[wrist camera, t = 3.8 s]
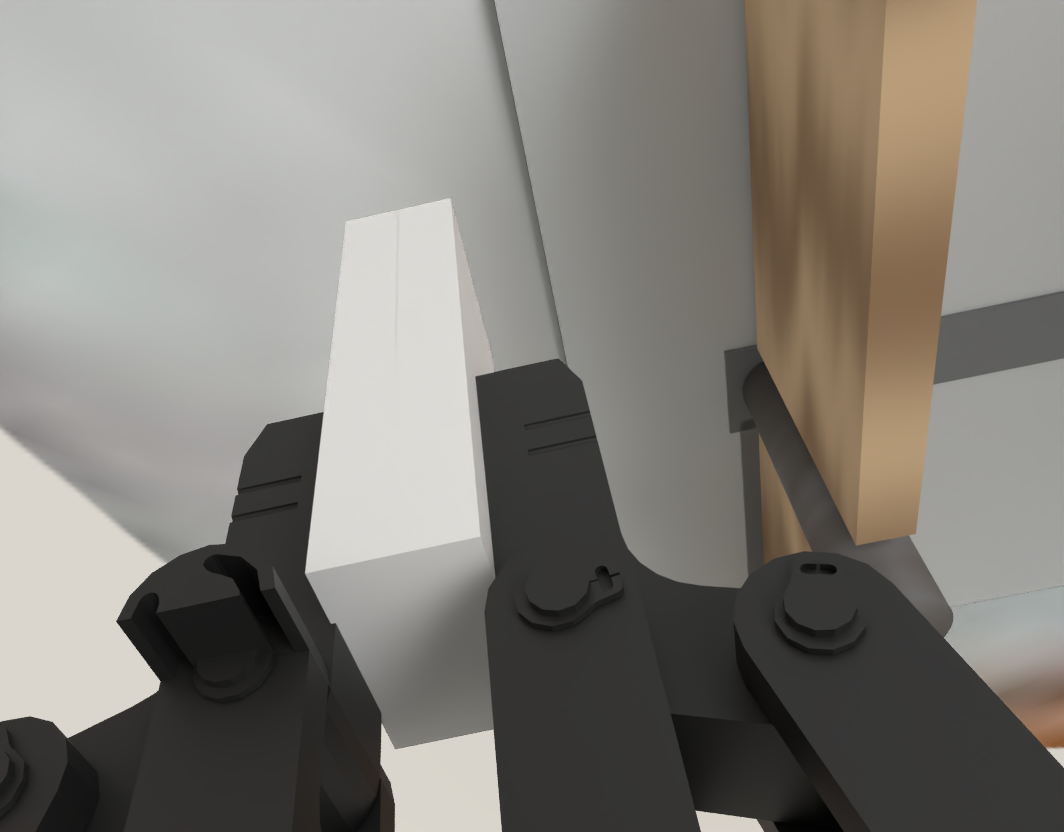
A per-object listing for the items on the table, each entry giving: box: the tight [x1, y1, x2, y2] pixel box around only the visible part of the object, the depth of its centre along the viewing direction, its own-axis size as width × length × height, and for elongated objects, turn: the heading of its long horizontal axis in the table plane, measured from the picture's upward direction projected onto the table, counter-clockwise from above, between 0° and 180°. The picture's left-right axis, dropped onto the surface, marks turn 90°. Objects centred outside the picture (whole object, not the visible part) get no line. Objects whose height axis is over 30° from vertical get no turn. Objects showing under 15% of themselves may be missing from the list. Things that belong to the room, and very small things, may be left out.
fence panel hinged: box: [744, 0, 977, 546], centre depth 17 cm, size 12×2×8 cm, turn 11°
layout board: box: [494, 0, 1064, 607], centre depth 25 cm, size 19×23×1 cm
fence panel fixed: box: [742, 361, 953, 637], centre depth 25 cm, size 13×2×8 cm, turn 11°
